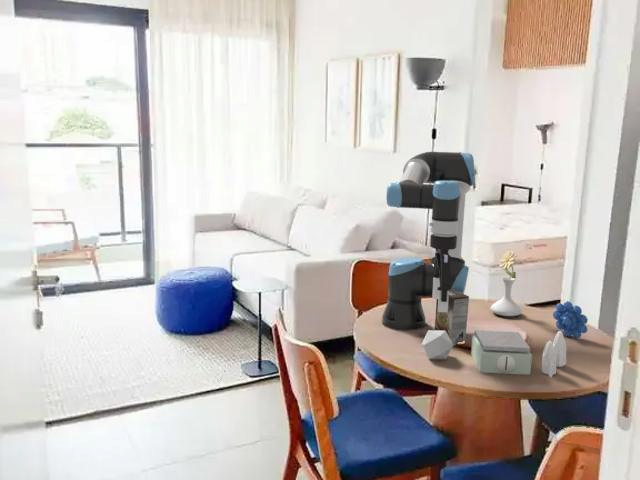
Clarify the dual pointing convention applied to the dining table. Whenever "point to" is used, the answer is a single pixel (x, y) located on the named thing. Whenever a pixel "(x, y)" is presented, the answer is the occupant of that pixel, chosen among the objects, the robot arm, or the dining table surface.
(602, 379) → the dining table surface
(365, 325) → the dining table surface
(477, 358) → the block
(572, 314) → the grapes
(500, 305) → the flower in vase
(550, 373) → the salt and pepper shakers
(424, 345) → the die
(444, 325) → the coffee box
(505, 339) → the pan
